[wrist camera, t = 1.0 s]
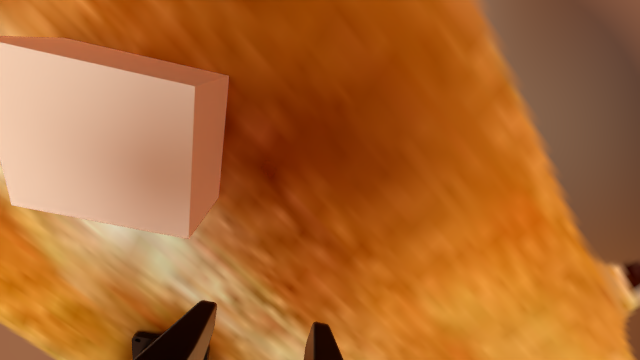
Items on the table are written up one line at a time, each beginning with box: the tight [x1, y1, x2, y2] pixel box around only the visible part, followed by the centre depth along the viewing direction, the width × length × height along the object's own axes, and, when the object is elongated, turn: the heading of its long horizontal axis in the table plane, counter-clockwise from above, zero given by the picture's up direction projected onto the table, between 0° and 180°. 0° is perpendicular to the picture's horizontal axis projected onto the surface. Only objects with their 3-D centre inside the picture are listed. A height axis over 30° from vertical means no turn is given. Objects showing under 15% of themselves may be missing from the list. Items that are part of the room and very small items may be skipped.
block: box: [0, 36, 229, 239], centre depth 16 cm, size 8×9×5 cm
